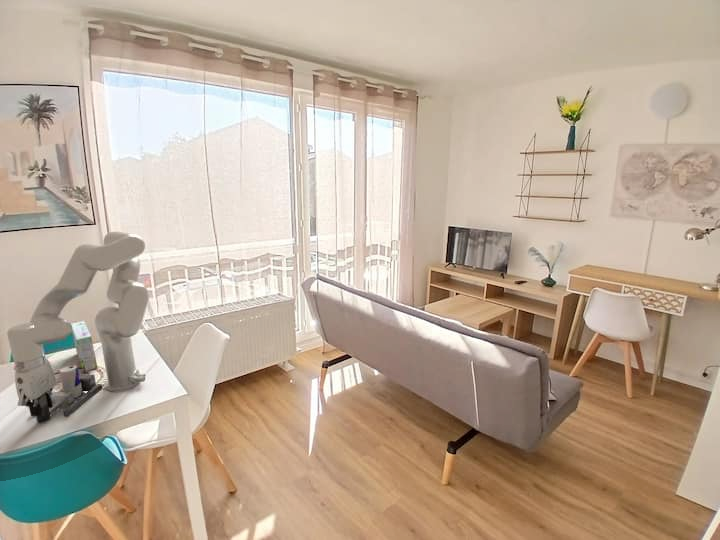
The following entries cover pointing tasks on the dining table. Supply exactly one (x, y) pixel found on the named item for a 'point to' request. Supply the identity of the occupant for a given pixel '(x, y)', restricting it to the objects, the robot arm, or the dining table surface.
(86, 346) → the snack box
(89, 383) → the press
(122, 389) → the robot arm
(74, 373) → the energy drink
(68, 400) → the ram
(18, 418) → the dining table surface
